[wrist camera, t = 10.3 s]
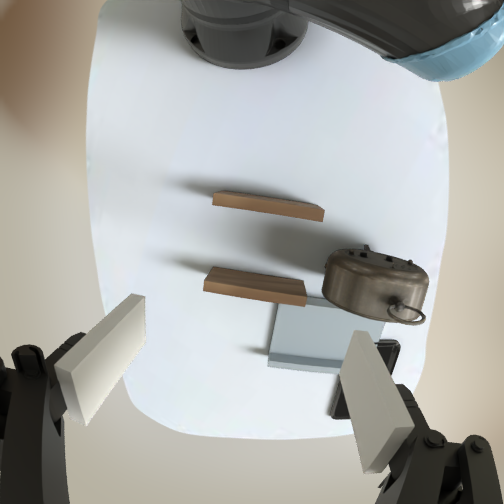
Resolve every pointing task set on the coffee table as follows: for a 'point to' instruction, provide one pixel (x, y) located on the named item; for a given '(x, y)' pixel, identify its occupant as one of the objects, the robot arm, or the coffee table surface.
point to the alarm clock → (375, 286)
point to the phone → (389, 355)
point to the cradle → (316, 336)
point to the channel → (251, 282)
